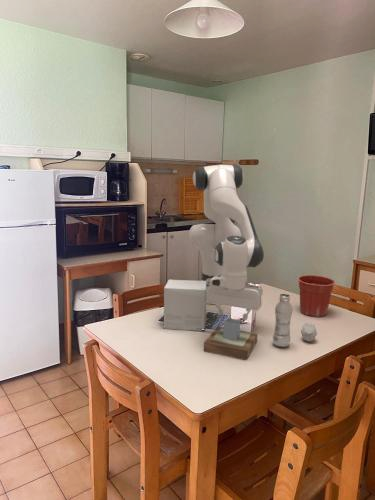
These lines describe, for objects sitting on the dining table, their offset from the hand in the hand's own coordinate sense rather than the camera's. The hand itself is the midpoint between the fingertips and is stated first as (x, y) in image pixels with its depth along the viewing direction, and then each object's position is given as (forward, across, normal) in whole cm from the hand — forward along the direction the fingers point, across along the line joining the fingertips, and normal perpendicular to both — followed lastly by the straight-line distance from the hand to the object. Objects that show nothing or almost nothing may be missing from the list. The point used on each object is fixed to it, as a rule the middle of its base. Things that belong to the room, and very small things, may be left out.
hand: (232, 316), depth 140 cm
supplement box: (+12, +24, -12) cm, 29 cm away
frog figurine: (+12, -26, -17) cm, 34 cm away
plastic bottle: (+12, -17, -8) cm, 23 cm away
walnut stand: (+12, 0, 0) cm, 12 cm away
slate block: (+8, 0, 0) cm, 8 cm away
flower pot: (+12, -25, -50) cm, 58 cm away
